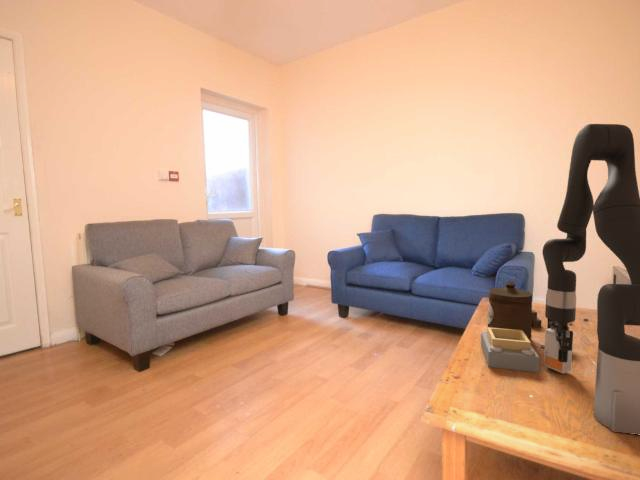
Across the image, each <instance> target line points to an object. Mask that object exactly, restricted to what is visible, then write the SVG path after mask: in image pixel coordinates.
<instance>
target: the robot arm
mask: <svg viewBox="0 0 640 480" xmlns="http://www.w3.org/2000/svg"><path fill="white" fill-rule="evenodd" d="M634 140H635V139H634V135H633V132H632V130H631V128H630V127H628V126H627V125H624V124H621V123H619V124H617V123H589V124H585V125H584V126H582V127H581V128H580V129H579V130H578V132H577V134H576V135H575V139H574V141H573V145H572V150H571V156H570V165H569V171H568V176H567V177H568V179H567V188H566V193H565V198H564V201H563V205H562V208H561V211H560V214H559V217H558V220H557V224H556V227H557V229H558V230H559V231H560V232H562V233H564V234H566V237H565V238H552V239H549V240H547V241H546V242H545V243H544V245H543V247H542V257H543V261H544V264H545V270H546V272H547V290H546V294H545V311H544V313H545V314H544V315H545V318H546V319H547V328H546V329H549V328H551V329H553V332H554V333H555V340H556V342H558V348H559V349H558V360H559V361H560V362H567V359H568V351H572V352H573V348H572V341H573V342H574V331H573V330H570V327H569V323H574V322H575V321H576V316H577V315H576V311H577V295H576V294H577V292H576V291H577V274H576V273H575V272H574V271H572V270H569V269H566V267H565V265H564V263H572V262H573V263H574V262H575V263H576V262H578V261H580V260H581V259H582V258H583V257H584V256H585V254H586V251H587V228H588V226H589V222H590V219H591V217H592V215H593V220H594V221H593V222H594V226H595V232H596V234H597V237H598V238H599V239H600V240H601V241H602V243H603V244H604V245H605V246H606V247H607V248H608V249H609V250H610V251H611V252H612V253H613V254H614V255H615V256H616V257H617V258H618V259H619V261H620V262H621V263H622V264H623V266H624V268H625V269H626V271H627V274H628V277H629V280H630V283H629V284H628V283H607V284H604V285H602V286H601V287H600V289H599V291H598V294H597V298H596V299H597V303H596V305H597V309H596V310H597V315H596V316H597V318H596V319H597V323H596V324H597V325H596V326H597V327H596V332H597V333H596V334H597V341H598V343H597V344H598V346H597V359H596V373H595V386H594V387H595V388H594V402H593V403H594V405H593V416H594V418H595V420H596V421H597V422H598V423H600V424H601V425H603V426H605V427H606V428H608V429H610V431H612V432H614V433H615V432H616V433H620V432H623V433H622V434H626V433H633V434H634V433H635V434H640V338H638V337H635V336H632V335H629V334H627V333H626V331H625V329H626V328H625V326H635V327H637V326H638V327H640V191H639V185H638V178H637V173H636V172H637V171H636V170H637V169H636V157H635V142H634ZM592 161H603V162H605V163H606V165H607V176H608V177H607V179H606V183H605V185H604V186H603V188H602V189H601V191H600V192H599V194H598V195H597V198H596V199H595V201H594V197H593V194H592V190H591V187H590V184H589V178H588V173H589V172H588V171H589V167H590V165H591V162H592ZM560 336H561V339H560V338H559V337H560ZM564 343H566V346H564ZM633 434H632V435H633Z"/></svg>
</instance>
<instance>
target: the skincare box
mask: <svg viewBox="0 0 640 480" xmlns="http://www.w3.org/2000/svg"><path fill="white" fill-rule="evenodd" d="M559 338H560V339H561V336H560V337H559ZM573 345H574V340H573V341H572V349H573ZM564 346H566V343H564ZM558 349H559V348H558V342H556V340H555V333H554V332H553V329H551V328H549V329H547V328H546V329H545V335H544V352H543V366H544V367H547V368H549V369H550V370H554V371H556V372H558V373H561V374H563V375H564V374H566V373H570V372H572V365H573V364H572V362H573V361H572V360H573V350H572V351H568V359H567V362H560V361H559V360H558Z"/></svg>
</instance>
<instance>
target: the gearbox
mask: <svg viewBox="0 0 640 480" xmlns="http://www.w3.org/2000/svg"><path fill="white" fill-rule="evenodd" d="M486 328H487V329H486V331H481V332H480V347H481V350H482V352H483V355H484V359H485V361H486V364H487V367H489V368H497V369H506V370H514V371H524V372H529V373H530V372H532V373H539V367H540V365H539V363H540V357H539V355H538V353H537V352H536V350H535V349H534V347H533V346H532V341H531V342H530V341H529V339H528V338H527V336H526V335H525V333H524V332H523V330H514V329H502V328H490V327H488V326H487V327H486Z"/></svg>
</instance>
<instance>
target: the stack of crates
mask: <svg viewBox="0 0 640 480" xmlns="http://www.w3.org/2000/svg"><path fill="white" fill-rule="evenodd" d="M532 327H533V328H542V320H541V319H540V318H539V317H538V312H537V311H536V310H534V309H532Z"/></svg>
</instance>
